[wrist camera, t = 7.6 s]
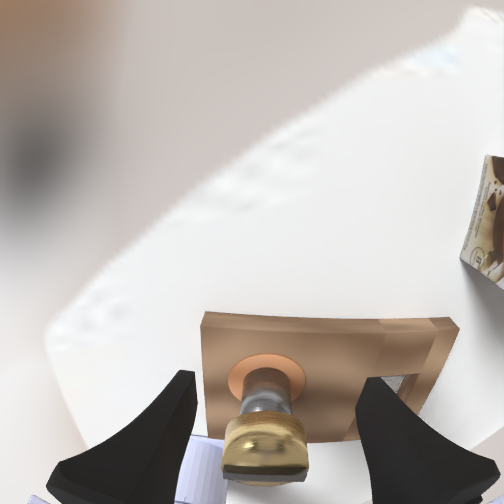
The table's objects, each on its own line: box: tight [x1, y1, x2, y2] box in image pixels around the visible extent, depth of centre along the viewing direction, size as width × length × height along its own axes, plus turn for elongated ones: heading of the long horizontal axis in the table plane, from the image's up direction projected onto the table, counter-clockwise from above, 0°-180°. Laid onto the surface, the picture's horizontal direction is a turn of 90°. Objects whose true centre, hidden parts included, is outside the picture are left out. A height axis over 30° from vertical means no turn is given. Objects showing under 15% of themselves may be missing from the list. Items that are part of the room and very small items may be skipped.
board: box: [200, 311, 460, 443], centre depth 23 cm, size 14×21×2 cm, turn 87°
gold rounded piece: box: [221, 367, 309, 486], centre depth 17 cm, size 5×5×9 cm
